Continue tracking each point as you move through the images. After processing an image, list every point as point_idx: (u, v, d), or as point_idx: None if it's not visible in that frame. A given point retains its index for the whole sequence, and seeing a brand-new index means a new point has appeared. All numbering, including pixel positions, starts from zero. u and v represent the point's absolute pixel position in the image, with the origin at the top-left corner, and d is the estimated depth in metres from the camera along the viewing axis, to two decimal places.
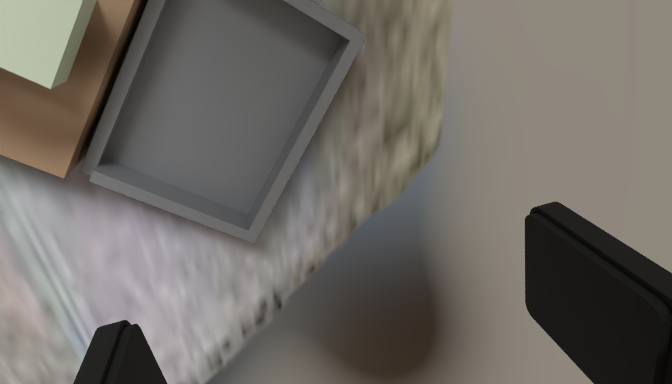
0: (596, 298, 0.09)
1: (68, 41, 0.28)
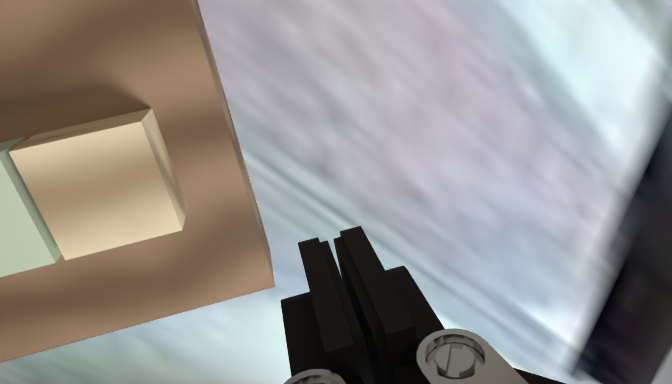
0: (361, 320, 0.09)
1: None
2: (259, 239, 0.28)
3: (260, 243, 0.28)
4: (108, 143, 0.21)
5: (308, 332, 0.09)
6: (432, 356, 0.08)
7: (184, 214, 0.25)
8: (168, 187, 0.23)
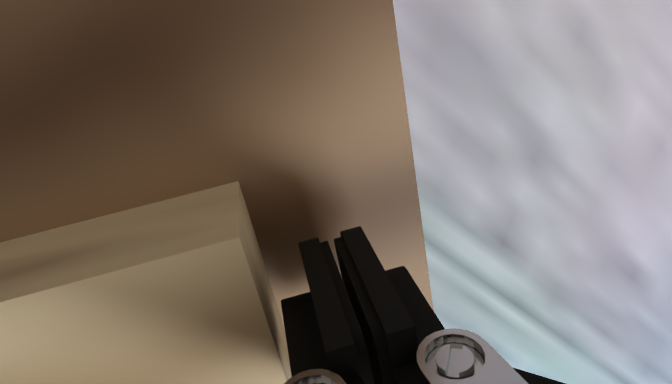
0: (361, 320, 0.09)
1: None
2: None
3: None
4: (158, 290, 0.09)
5: (308, 332, 0.09)
6: (432, 356, 0.08)
7: None
8: (282, 359, 0.11)
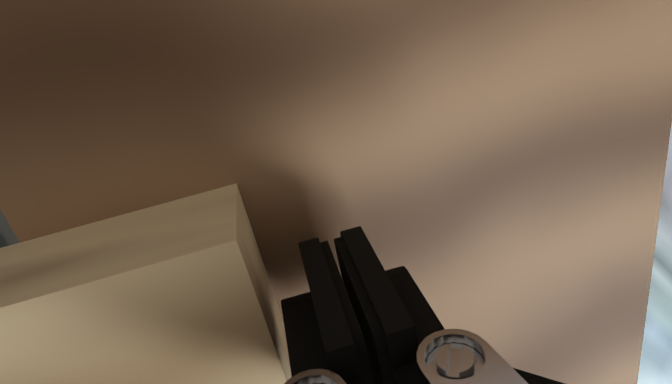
0: (361, 320, 0.09)
1: None
2: (642, 324, 0.17)
3: (642, 330, 0.17)
4: (157, 293, 0.09)
5: (308, 332, 0.09)
6: (432, 356, 0.08)
7: None
8: (282, 360, 0.11)
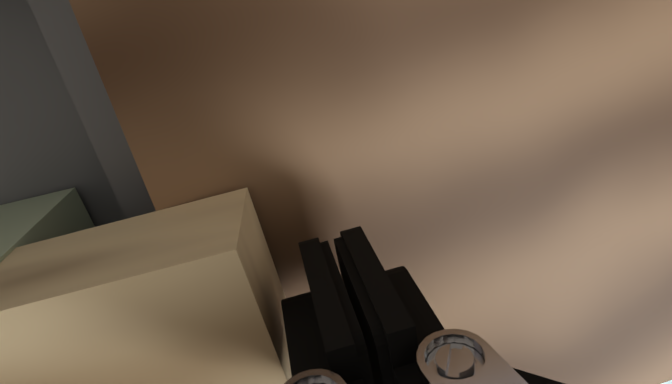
0: (361, 320, 0.09)
1: None
2: None
3: None
4: (159, 299, 0.09)
5: (308, 332, 0.09)
6: (432, 356, 0.08)
7: None
8: (287, 367, 0.11)
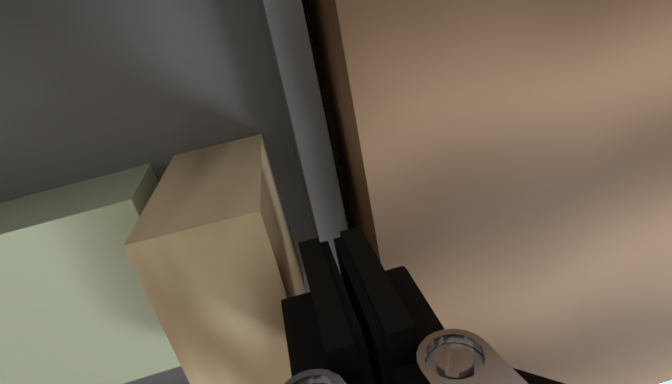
0: (361, 320, 0.09)
1: None
2: None
3: None
4: None
5: (308, 332, 0.09)
6: (432, 356, 0.08)
7: None
8: (202, 364, 0.11)
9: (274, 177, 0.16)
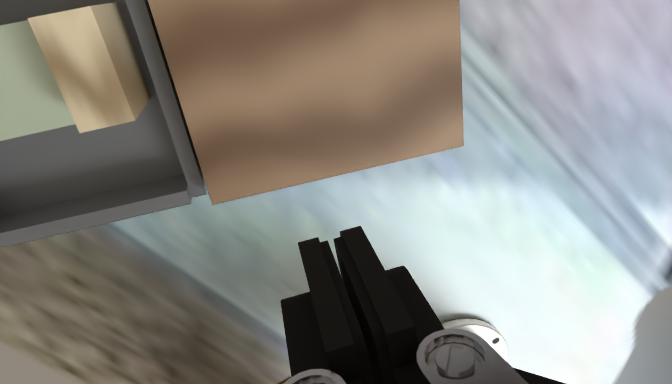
0: (361, 320, 0.09)
1: None
2: (461, 95, 0.31)
3: (461, 99, 0.31)
4: None
5: (308, 332, 0.09)
6: (432, 356, 0.08)
7: (108, 123, 0.25)
8: (70, 89, 0.24)
9: (126, 30, 0.28)
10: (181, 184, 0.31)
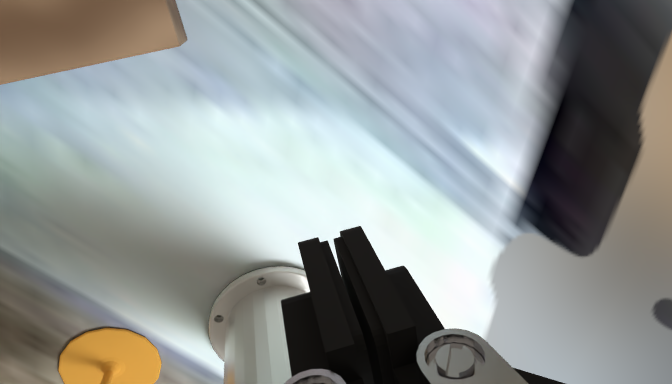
0: (361, 320, 0.09)
1: None
2: None
3: None
4: None
5: (308, 332, 0.09)
6: (432, 356, 0.08)
7: None
8: None
9: None
10: None
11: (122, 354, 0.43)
